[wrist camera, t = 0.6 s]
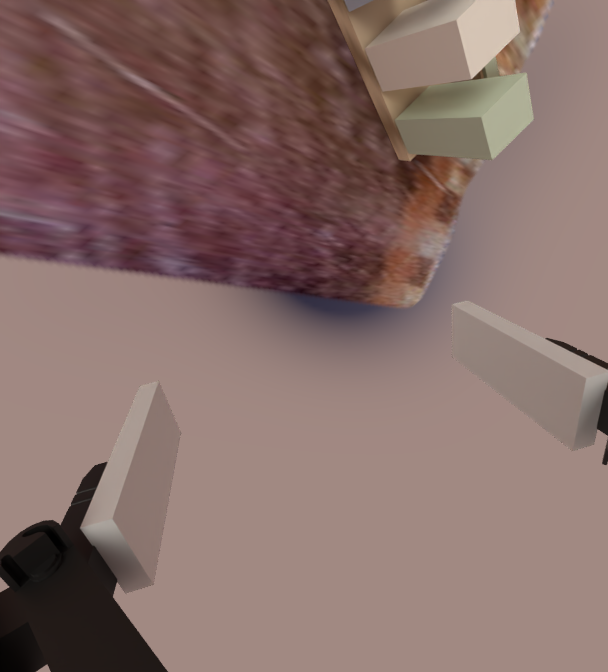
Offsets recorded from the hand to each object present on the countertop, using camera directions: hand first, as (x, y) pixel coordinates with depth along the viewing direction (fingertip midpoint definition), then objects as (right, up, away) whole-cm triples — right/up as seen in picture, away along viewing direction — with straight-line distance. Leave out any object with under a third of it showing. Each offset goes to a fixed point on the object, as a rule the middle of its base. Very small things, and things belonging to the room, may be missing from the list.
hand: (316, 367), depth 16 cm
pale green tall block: (+12, +24, +23) cm, 35 cm away
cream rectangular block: (+8, +28, +18) cm, 35 cm away
